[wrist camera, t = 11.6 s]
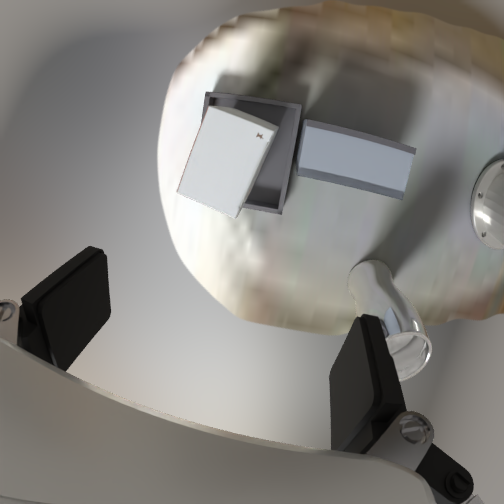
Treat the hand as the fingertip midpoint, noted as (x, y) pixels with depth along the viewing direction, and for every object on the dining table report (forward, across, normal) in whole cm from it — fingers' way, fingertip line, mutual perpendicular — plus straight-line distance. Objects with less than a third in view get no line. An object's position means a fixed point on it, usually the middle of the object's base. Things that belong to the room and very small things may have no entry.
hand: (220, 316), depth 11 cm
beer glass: (+27, -14, +10) cm, 32 cm away
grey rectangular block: (+26, -7, -5) cm, 27 cm away
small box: (+26, +4, -2) cm, 26 cm away
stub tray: (+26, +4, -2) cm, 26 cm away
